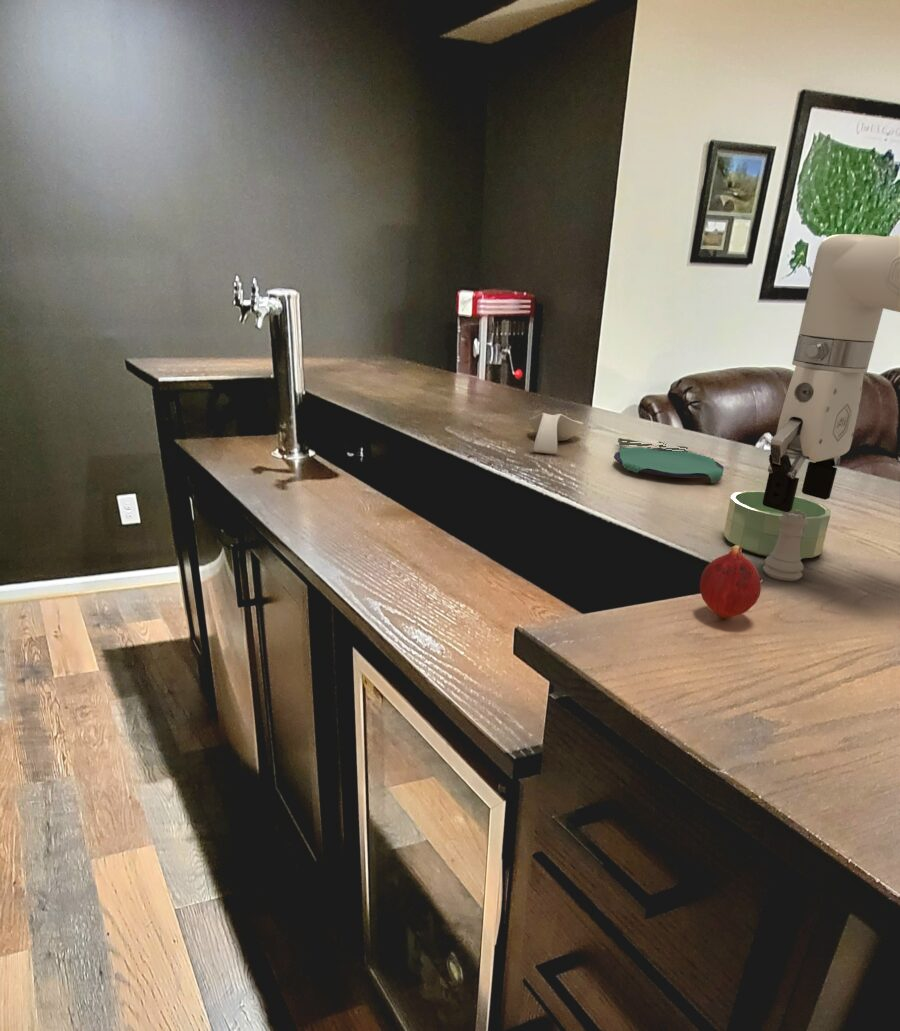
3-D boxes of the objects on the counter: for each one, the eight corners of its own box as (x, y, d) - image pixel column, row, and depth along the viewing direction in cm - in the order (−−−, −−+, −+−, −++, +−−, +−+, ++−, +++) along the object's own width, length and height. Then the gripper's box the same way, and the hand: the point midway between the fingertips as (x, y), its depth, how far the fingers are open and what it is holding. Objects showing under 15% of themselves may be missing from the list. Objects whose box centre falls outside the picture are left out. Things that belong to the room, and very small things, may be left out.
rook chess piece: (755, 572, 88) (768, 510, 85) (772, 565, 91) (784, 504, 88) (791, 585, 85) (806, 521, 82) (807, 576, 88) (822, 514, 85)
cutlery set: (615, 479, 127) (617, 466, 126) (607, 443, 155) (609, 433, 155) (732, 490, 124) (734, 477, 124) (703, 452, 153) (705, 441, 152)
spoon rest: (530, 430, 165) (533, 398, 163) (582, 435, 162) (586, 403, 160) (516, 451, 143) (519, 416, 141) (576, 458, 140) (580, 422, 138)
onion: (762, 633, 72) (778, 559, 70) (705, 630, 72) (719, 555, 70) (739, 607, 78) (754, 538, 75) (687, 605, 78) (699, 535, 75)
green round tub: (800, 534, 103) (809, 494, 101) (836, 566, 92) (846, 521, 90) (713, 527, 104) (720, 487, 102) (738, 558, 92) (746, 513, 91)
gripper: (832, 362, 71) (793, 524, 77) (898, 358, 82) (859, 500, 88) (760, 351, 77) (728, 504, 82) (831, 349, 87) (798, 484, 93)
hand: (796, 502), depth 85 cm, fingers open, 9 cm apart
